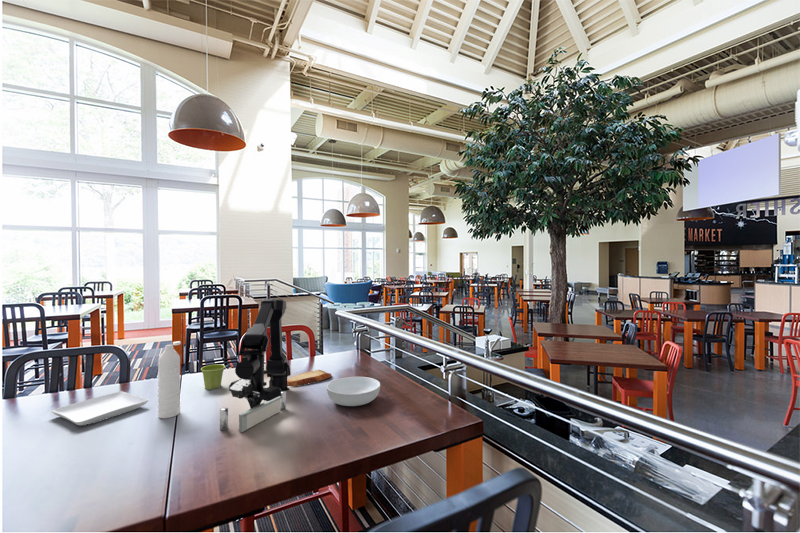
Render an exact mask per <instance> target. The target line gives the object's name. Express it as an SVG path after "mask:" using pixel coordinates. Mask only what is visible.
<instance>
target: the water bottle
mask: <svg viewBox="0 0 800 533" xmlns="http://www.w3.org/2000/svg"><path fill="white" fill-rule="evenodd" d="M181 343H182V342H181V341H180V340H178V341H173V342H172V344H166V345H165V346H164V350H163V352H161V354H160V356H159V357H158V359H157V363H158V374H157V375H158V380H157V384H158V389H157V392H158V394H157V397H158V399H157V400H158V401H157V402H158V403H157V409H158V411H157V412H158V413H157V416H158V418H159V419H170V418H173V417H177V416H178V415H179V414H180V413H181V406H180V405H181V395H180V394H181V366H180V365H181V364H180V363H181V356H180V354H179V353H178V352H177V351H176V349H175V348H174V346H175V345H176V346H180V345H181Z"/></svg>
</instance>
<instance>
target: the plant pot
mask: <svg viewBox="0 0 800 533" xmlns="http://www.w3.org/2000/svg"><path fill="white" fill-rule="evenodd" d="M225 368H226V366H225V365H224V364H218V363H217V364H216V363H215V364H209V365H205V366H203V367H201V368H200V371H201V372H202V376H203V383H204V389H206V390H215V389H217V388H218V389H220V388H221V386H222V381H223V380H222V379H223V374H224V370H225Z"/></svg>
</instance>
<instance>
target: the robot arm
mask: <svg viewBox="0 0 800 533" xmlns="http://www.w3.org/2000/svg"><path fill="white" fill-rule="evenodd" d="M286 310H287V301H285V300H284V299H283V298H267V299H262V300H261V302H260V308H259V310H258V312H257V316H256V318H255V321H254V323H253V325H252V326H251V327H249V328H248V329H247V330H246V332H245V333H244V335H243V337H242V340H241V342H240V347H239V352H238V356H239V357H240V356H241V361H239V362H238V363H237V364H236V365H235V368H234V373H235V375H236V376H237V377H238V378H239V379H237V380H234V381H232V382H231V383H230V384H229V386H228V391H229V392H230V393H231V395H232V397H233V398H236V399H237V398H238V399H240V400H241V399H246V400H247V402H248V405H249V408H250V409H251V408H253V407H255V406H258V405H260V404H262V403H263V401H264V402H266V401H270V400H273V399H275V398H277V397H279V396H281V391H286V392H287V391H289V390H290V387H288V386H287V381H288V377H289V376H291V367H290V364H289V362H288V356H287V355H286V354H285V352H284V351H283V350H284V348H283V328H282V318H283V317H284V315H285V313H286ZM268 327H269V334H270V336H268ZM269 338H270V339H269ZM269 343H270V356H269V358H268V360H267V362H266V367H265V355H266V354H265V353H267V350H268V347H269ZM265 375H266V376H267V377H266V378H269V381H268V384H267V382H266V381H265ZM267 385H268V387H266V386H267Z"/></svg>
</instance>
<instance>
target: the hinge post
mask: <svg viewBox="0 0 800 533" xmlns="http://www.w3.org/2000/svg"><path fill="white" fill-rule="evenodd" d="M280 397H281V399H280V412H284V411H283V410H285V409H286V410H287V390H286V391H281V396H280ZM286 410H285V411H286Z"/></svg>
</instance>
